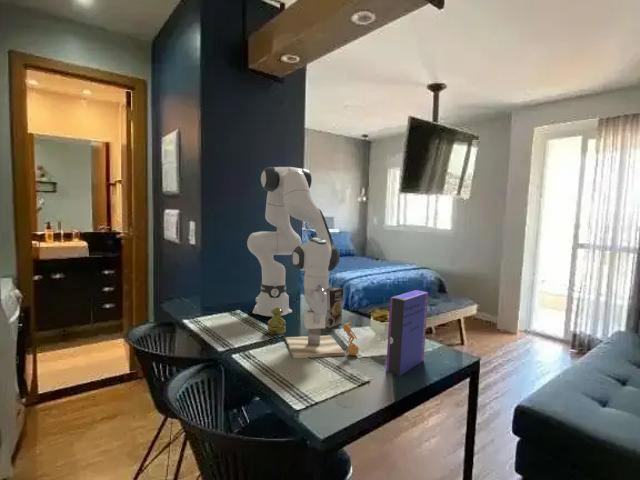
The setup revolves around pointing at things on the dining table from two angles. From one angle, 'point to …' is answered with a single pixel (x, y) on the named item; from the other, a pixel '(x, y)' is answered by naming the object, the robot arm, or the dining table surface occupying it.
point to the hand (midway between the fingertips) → (314, 320)
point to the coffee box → (334, 306)
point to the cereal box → (406, 331)
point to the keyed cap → (309, 319)
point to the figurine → (352, 347)
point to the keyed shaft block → (314, 345)
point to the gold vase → (276, 322)
